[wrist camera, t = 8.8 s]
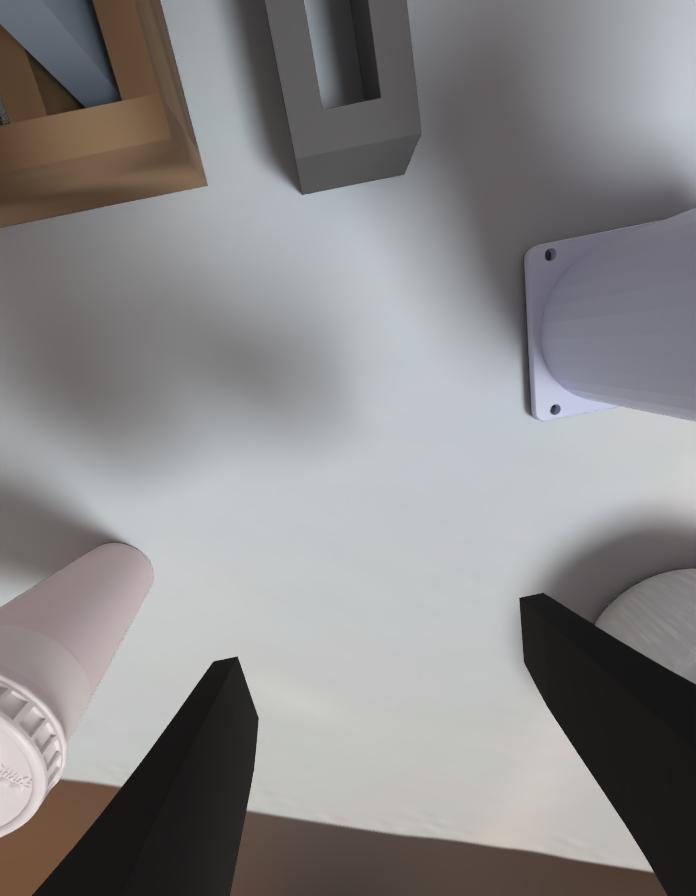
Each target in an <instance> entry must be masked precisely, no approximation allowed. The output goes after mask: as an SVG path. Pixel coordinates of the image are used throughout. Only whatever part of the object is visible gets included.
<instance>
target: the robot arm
mask: <svg viewBox="0 0 696 896" xmlns="http://www.w3.org/2000/svg"><path fill="white" fill-rule="evenodd" d="M547 250H548V251H549V252H551V259H550V261H547V260H546V259H545V252H546V251H547ZM524 268H525V288H526V308H527V328H528V349H529V369H530V389H531V409H532V416H533V417H534V418H535V419H537V420H539V421H549V420H554V419H559V418H564V417H569V416H574V415H579V414H585V413H590V412H595V411H600V410H605V409H610V408H615V407H620V406H621V407H626V408H631V409H636V410H641V411H646V412H651V413H656V414H661V415H666V416H671V417H676V418H681V419H686V420H691V421H696V208H693V209H691V210H688V211H685V212H683V213H680V214H678V215H675V216H673V217H670V218H667V219H664V220H659V221H654V222H649V223H644V224H639V225H634V226H629V227H624V228H619V229H614V230H609V231H604V232H599V233H594V234H589V235H584V236H579V237H574V238H569V239H564V240H559V241H554V242H549V243H544V244H539V245H536V246H534V247H532V248H530V249H529V250H528V251H527V253H526V255H525V258H524ZM553 405H555V406H556V409H555V411H554V412H553V413H551V412H550V409H551V407H552V406H553ZM519 599H520V612H521V626H522V640H523V653H524V663H525V665H526V667H527V669H528V671H529V673H530V675H531V677H532V679H533V680H534V682H535V684H536V686H537V688H538V690H539V692H540V694H541V696H542V697H543V699H544V701H545V703H546V705H547V707H548V708H549V710H550V711H551V713H552V714H553V716H554V718H555V719H556V721H557V722H558V724H559V725H560V727H561V728H562V730H563V731H564V733H565V734H566V736H567V737H568V739H569V740H570V742H571V744H572V745H573V747H574V748H575V750H576V751H577V753H578V754H579V756H580V757H581V759H582V760H583V762H584V763H585V765H586V766H587V768H588V769H589V771H590V772H591V774H592V775H593V777H594V778H595V780H596V781H597V783H598V784H599V786H600V787H601V789H602V790H603V792H604V793H605V795H606V796H607V798H608V799H609V801H610V802H611V804H612V805H613V807H614V808H615V810H616V811H617V813H618V814H619V816H620V817H621V819H622V820H623V822H624V823H625V825H626V827H627V828H628V830H629V831H630V833H631V835H632V836H633V838H634V839H635V841H636V843H637V844H638V846H639V847H640V849H641V851H642V852H643V854H644V855H645V857H646V859H647V860H648V862H649V864H650V866H651V867H652V869H653V871H654V873H655V874H656V876H657V878H658V880H659V881H660V883H661V885H662V887H663V888H664V890H665V892H666V894H667V895H668V896H696V684H694V683H693V682H691V681H689V680H687V679H685V678H684V677H682V676H680V675H678V674H676V673H674V672H673V671H671V670H669V669H667V668H665V667H664V666H662V665H660V664H659V663H657V662H655V661H653V660H652V659H650V658H648V657H646V656H645V655H643V654H641V653H640V652H638V651H636V650H634V649H633V648H631V647H629V646H628V645H626V644H624V643H623V642H621V641H619V640H618V639H616V638H615V637H613V636H611V635H610V634H608V633H606V632H605V631H603V630H602V629H600V628H598V627H597V626H595V625H594V624H592V623H590V622H589V621H587V620H586V619H584V618H582V617H581V616H579V615H578V614H576V613H574V612H573V611H571V610H570V609H568V608H567V607H565V606H563V605H562V604H560V603H559V602H557V601H555V600H554V599H552V598H551V597H549V596H547V595H546V594H544V593H541V594H536V595H531V596H526V597H522V598H519ZM258 719H259V718H258V715H257V712H256V709H255V706H254V704H253V701H252V698H251V695H250V692H249V689H248V686H247V683H246V680H245V677H244V674H243V671H242V668H241V665H240V662H239V659H238V657H233V658H228V659H224V660H219V661H214V662H213V663H212V664H211V666H210V667H209V669H208V670H207V671H206V673H205V674H204V676H203V677H202V678H201V680H200V681H199V683H198V684H197V685H196V687H195V688H194V690H193V691H192V692H191V694H190V695H189V697H188V698H187V700H186V701H185V702H184V704H183V705H182V707H181V708H180V709H179V711H178V712H177V714H176V715H175V716H174V718H173V719H172V721H171V722H170V723H169V725H168V726H167V728H166V729H165V730H164V732H163V733H162V734H161V736H160V737H159V739H158V740H157V741H156V743H155V744H154V745H153V747H152V748H151V750H150V751H149V752H148V754H147V755H146V756H145V758H144V759H143V760H142V762H141V763H140V764H139V766H138V767H137V768H136V770H135V771H134V772H133V773H132V775H131V776H130V777H129V779H128V780H127V781H126V782H125V784H124V785H123V786H122V788H121V789H120V790H119V792H118V793H117V794H116V796H115V797H114V798H113V799H112V801H111V802H110V803H109V804H108V806H107V807H106V808H105V810H104V811H103V812H102V813H101V815H100V816H99V817H98V818H97V820H96V821H95V822H94V823H93V825H92V826H91V827H90V828H89V830H88V831H87V832H86V833H85V834H84V836H83V837H82V838H81V839H80V840H79V842H78V843H77V844H76V845H75V846H74V848H73V849H72V850H71V851H70V852H69V853H68V855H67V856H66V857H65V858H64V859H63V860H62V862H61V863H60V864H59V865H58V866H57V867H56V869H55V870H54V871H53V872H52V873H51V874H50V875H49V877H48V878H47V879H46V880H45V881H44V882H43V884H42V885H41V886H40V887H39V888H38V889H37V890H36V892H35V893H34V894H33V895H32V896H230V892H231V887H232V882H233V876H234V871H235V866H236V861H237V856H238V851H239V846H240V840H241V835H242V830H243V824H244V820H245V814H246V809H247V804H248V799H249V793H250V788H251V783H252V777H253V771H254V763H255V753H256V743H257V731H258Z"/></svg>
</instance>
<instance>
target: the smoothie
mask: <svg viewBox="0 0 696 896" xmlns="http://www.w3.org/2000/svg"><path fill="white" fill-rule="evenodd" d="M153 580H154V572H153V568H152V565H151V563H150V562H149V560H148V559H147V557H146V556H145V555H144V554H143V553H141V552H140V551H139V550H137V549H136V548H134V547H131V546H129V545H126V544H121V543H107V544H103V545H100V546H98V547H96V548H94V549H93V550H91V551H90V552H88V553H86V554H85V555H83V556H82V557H80V558H78V559H77V560H75V561H74V562H72V563H70V564H69V565H67V566H66V567H64V568H62V569H61V570H59V571H58V572H56V573H54V574H53V575H51V576H50V577H48V578H46V579H45V580H43V581H42V582H40V583H38V584H37V585H35V586H34V587H32V588H30V589H29V590H27V591H26V592H24V593H22V594H21V595H19V596H18V597H16V598H14V599H13V600H11V601H9V602H8V603H6V604H5V605H3V606H1V607H0V837H2V836H4V835H5V834H8V833H10V832H12V831H14V830H16V829H17V828H19V827H21V826H22V825H23V824H25V823H26V822H27V821H28V820H29V819H30V818H31V817H32V816H33V815H34V814H35V813H36V811H37V810H38V808H39V806H40V805H41V803H42V802H43V800H44V799H45V797H46V795H47V794H48V792H49V791H50V789H51V788H52V787H53V786H54V785H55V784H56V783H57V782H58V781H59V779H60V777H61V775H62V773H63V770H64V768H65V766H66V764H67V747H68V742H69V740H70V738H71V736H72V734H73V733H74V731H75V729H76V727H77V725H78V724H79V722H80V720H81V718H82V716H83V715H84V713H85V711H86V709H87V706H88V704H89V703H90V701H91V699H92V697H93V695H94V693H95V691H96V689H97V688H98V686H99V684H100V682H101V680H102V678H103V676H104V674H105V673H106V671H107V669H108V667H109V665H110V663H111V661H112V659H113V658H114V656H115V654H116V652H117V650H118V648H119V646H120V644H121V643H122V641H123V639H124V637H125V635H126V633H127V631H128V629H129V628H130V626H131V624H132V622H133V620H134V618H135V616H136V614H137V613H138V611H139V609H140V607H141V605H142V603H143V601H144V599H145V598H146V596H147V594H148V592H149V590H150V588H151V586H152V584H153Z"/></svg>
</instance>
